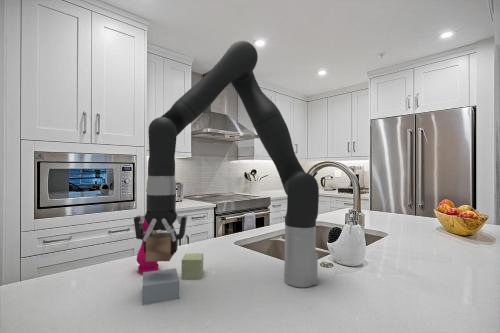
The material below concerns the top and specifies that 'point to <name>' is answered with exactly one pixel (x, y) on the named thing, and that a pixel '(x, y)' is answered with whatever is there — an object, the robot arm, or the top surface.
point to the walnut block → (158, 247)
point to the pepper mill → (141, 256)
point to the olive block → (192, 266)
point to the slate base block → (160, 286)
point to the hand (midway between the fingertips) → (160, 254)
